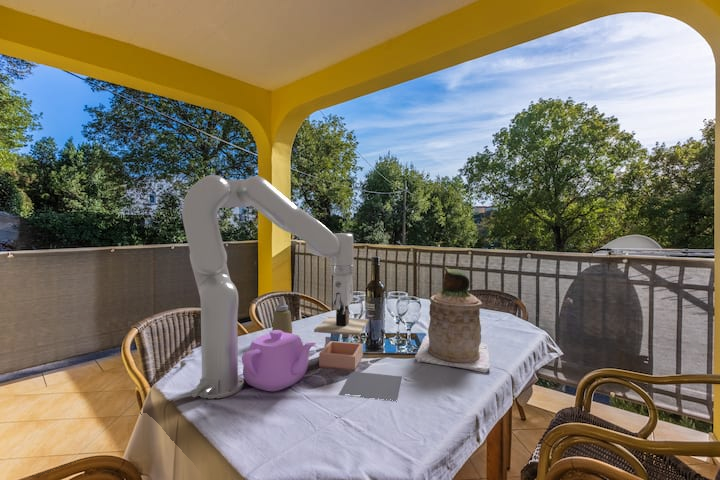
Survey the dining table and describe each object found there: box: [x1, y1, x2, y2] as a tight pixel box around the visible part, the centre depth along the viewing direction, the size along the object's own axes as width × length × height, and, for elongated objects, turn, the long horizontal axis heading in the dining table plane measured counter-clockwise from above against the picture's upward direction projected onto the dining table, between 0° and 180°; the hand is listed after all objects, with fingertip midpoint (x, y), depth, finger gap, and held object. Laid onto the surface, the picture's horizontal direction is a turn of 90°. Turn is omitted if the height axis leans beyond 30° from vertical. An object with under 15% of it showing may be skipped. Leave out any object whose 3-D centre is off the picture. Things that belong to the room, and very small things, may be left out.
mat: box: [338, 371, 403, 403], centre depth 98 cm, size 15×16×1 cm
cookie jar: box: [414, 266, 491, 373], centre depth 121 cm, size 25×25×32 cm
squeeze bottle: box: [271, 295, 293, 334], centre depth 135 cm, size 8×8×18 cm
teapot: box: [241, 330, 317, 392], centre depth 98 cm, size 23×21×15 cm
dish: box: [318, 340, 364, 372], centre depth 114 cm, size 12×12×5 cm
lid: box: [313, 308, 370, 336], centre depth 113 cm, size 15×15×6 cm
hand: (342, 323), depth 114 cm, fingers closed on lid, 3 cm apart
